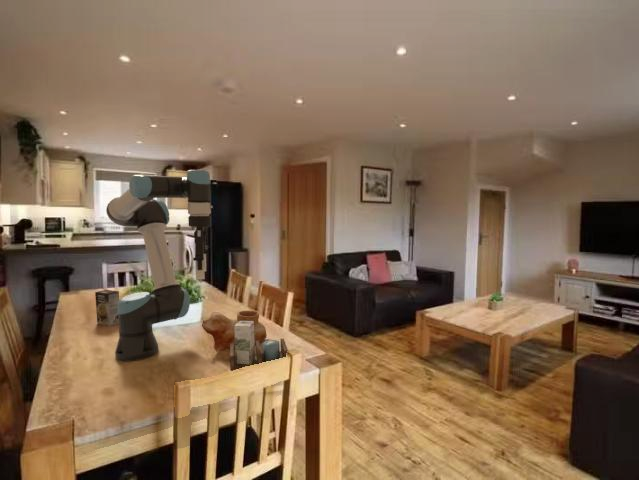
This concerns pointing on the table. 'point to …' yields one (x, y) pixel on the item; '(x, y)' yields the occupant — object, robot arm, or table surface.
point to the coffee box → (107, 307)
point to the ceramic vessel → (231, 328)
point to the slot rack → (258, 355)
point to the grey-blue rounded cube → (271, 350)
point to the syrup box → (244, 342)
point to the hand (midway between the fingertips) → (201, 275)
